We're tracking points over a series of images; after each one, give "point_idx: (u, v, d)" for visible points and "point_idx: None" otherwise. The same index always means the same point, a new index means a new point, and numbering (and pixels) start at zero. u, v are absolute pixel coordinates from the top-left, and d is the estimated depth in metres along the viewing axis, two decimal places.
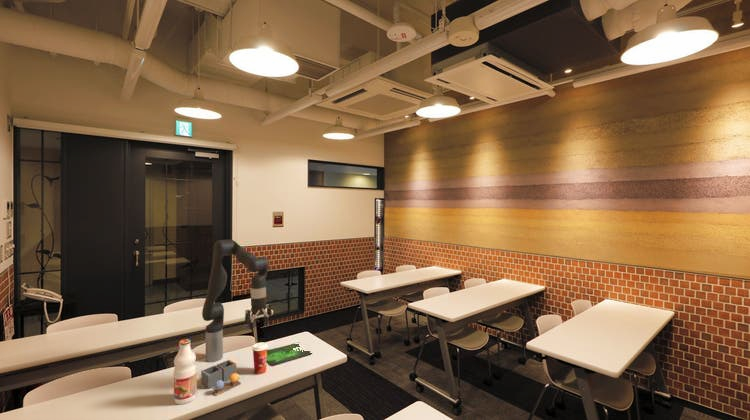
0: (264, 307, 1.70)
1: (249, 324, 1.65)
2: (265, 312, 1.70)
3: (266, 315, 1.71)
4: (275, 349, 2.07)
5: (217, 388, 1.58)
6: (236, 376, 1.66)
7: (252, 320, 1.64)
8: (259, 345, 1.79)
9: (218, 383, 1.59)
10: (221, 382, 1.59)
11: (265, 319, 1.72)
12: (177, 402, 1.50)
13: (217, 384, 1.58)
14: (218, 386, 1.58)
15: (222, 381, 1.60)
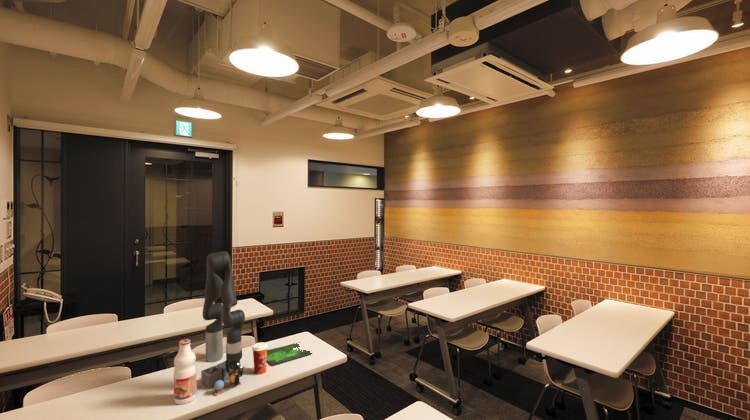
0: None
1: (237, 379, 1.64)
2: None
3: None
4: (275, 349, 2.07)
5: (217, 388, 1.58)
6: None
7: None
8: (259, 345, 1.79)
9: (218, 383, 1.59)
10: (221, 382, 1.59)
11: None
12: (177, 402, 1.50)
13: (217, 384, 1.58)
14: (218, 386, 1.58)
15: (222, 381, 1.60)
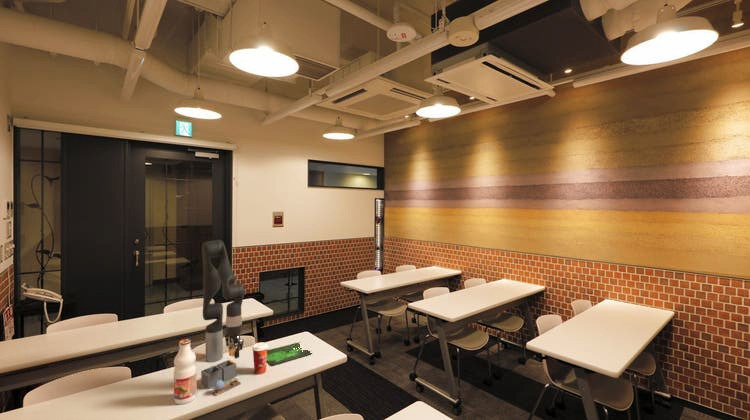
0: None
1: (237, 353, 1.64)
2: None
3: None
4: (275, 349, 2.07)
5: (217, 388, 1.58)
6: None
7: (239, 347, 1.66)
8: (259, 345, 1.79)
9: (218, 383, 1.59)
10: (221, 382, 1.59)
11: None
12: (177, 402, 1.50)
13: (217, 384, 1.58)
14: (218, 386, 1.58)
15: (222, 381, 1.60)
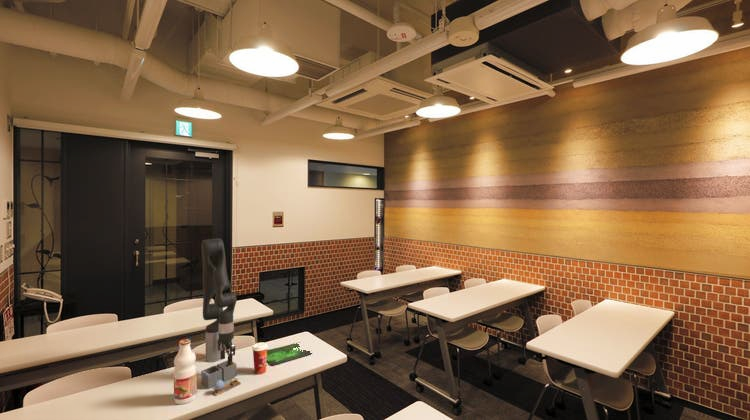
0: None
1: (230, 358, 1.72)
2: None
3: (225, 349, 1.77)
4: (275, 349, 2.07)
5: (217, 388, 1.58)
6: None
7: (232, 353, 1.73)
8: (259, 345, 1.79)
9: (218, 383, 1.59)
10: (221, 382, 1.59)
11: (223, 354, 1.76)
12: (177, 402, 1.50)
13: (217, 384, 1.58)
14: (218, 386, 1.58)
15: (222, 381, 1.60)
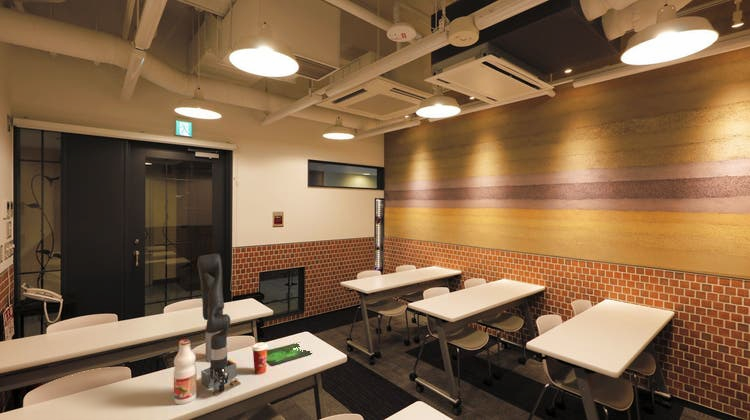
0: None
1: (222, 387, 1.58)
2: None
3: None
4: (275, 349, 2.07)
5: (217, 388, 1.58)
6: None
7: None
8: (259, 345, 1.79)
9: (218, 383, 1.59)
10: None
11: None
12: (177, 402, 1.50)
13: (217, 384, 1.58)
14: (218, 386, 1.58)
15: None
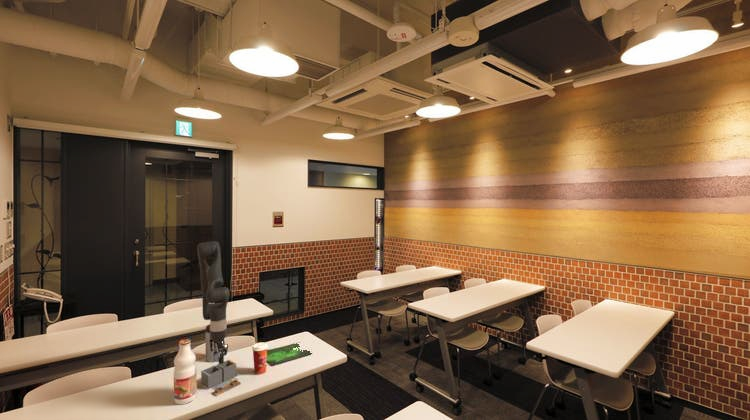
0: None
1: (222, 358, 1.58)
2: None
3: None
4: (275, 349, 2.07)
5: (216, 360, 1.59)
6: None
7: (223, 352, 1.60)
8: (259, 345, 1.79)
9: (217, 355, 1.59)
10: None
11: None
12: (177, 402, 1.50)
13: (216, 356, 1.59)
14: (218, 358, 1.59)
15: None
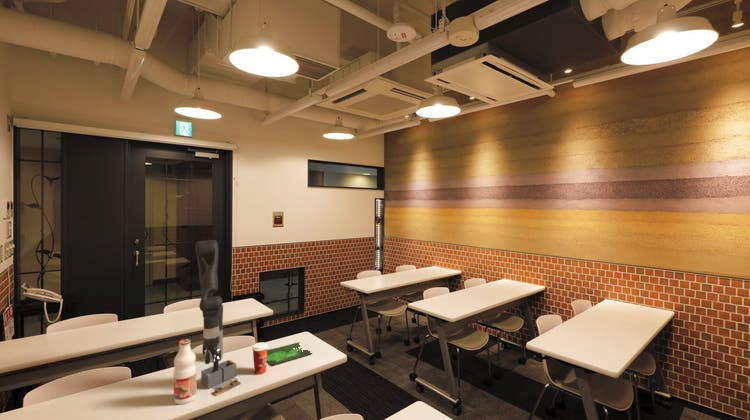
0: None
1: (216, 363, 1.65)
2: None
3: None
4: (275, 349, 2.07)
5: None
6: None
7: None
8: (259, 345, 1.79)
9: None
10: None
11: (208, 358, 1.70)
12: (177, 402, 1.50)
13: None
14: None
15: None
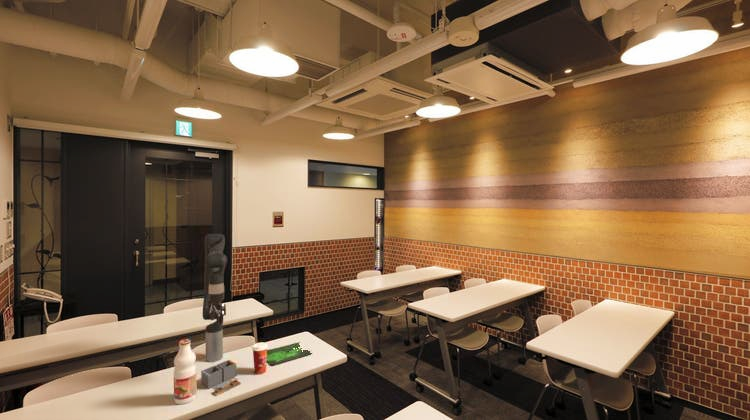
0: None
1: (221, 318, 1.71)
2: None
3: (215, 310, 1.77)
4: (275, 349, 2.07)
5: None
6: None
7: None
8: (259, 345, 1.79)
9: None
10: None
11: (213, 315, 1.76)
12: (177, 402, 1.50)
13: None
14: None
15: None
